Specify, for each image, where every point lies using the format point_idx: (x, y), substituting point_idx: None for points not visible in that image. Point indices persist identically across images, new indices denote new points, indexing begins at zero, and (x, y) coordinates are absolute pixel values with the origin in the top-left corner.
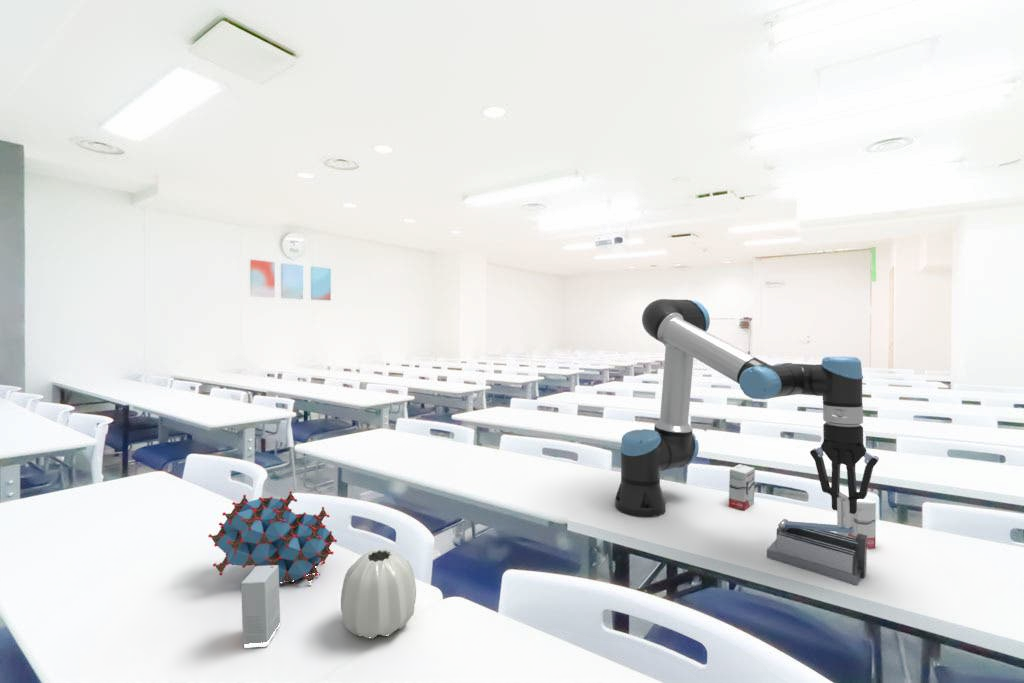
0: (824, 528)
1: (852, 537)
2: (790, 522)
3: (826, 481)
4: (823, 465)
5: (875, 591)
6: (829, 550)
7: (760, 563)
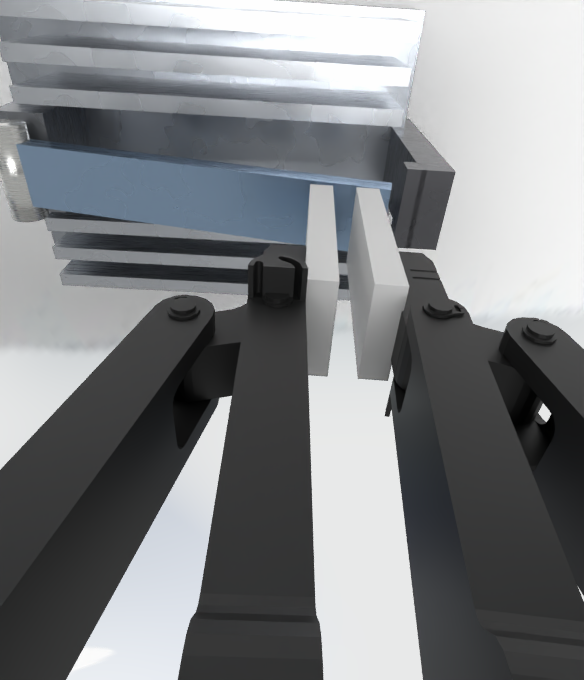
0: (237, 232)
1: (371, 25)
2: (45, 170)
3: (180, 453)
4: (42, 628)
5: (426, 256)
6: None
7: (82, 297)
